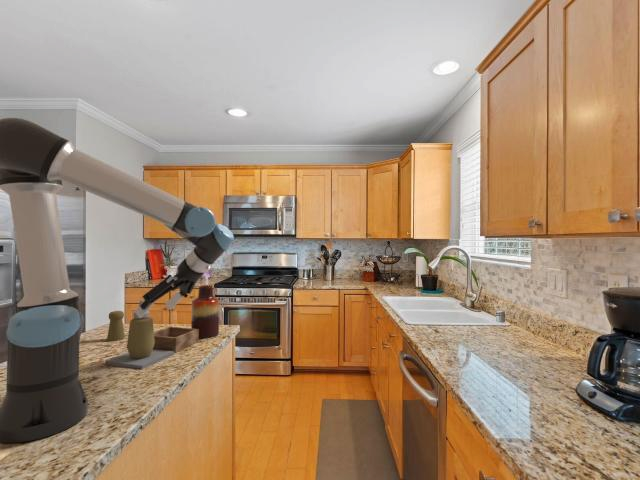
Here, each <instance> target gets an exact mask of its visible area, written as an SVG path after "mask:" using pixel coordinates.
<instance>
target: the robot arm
mask: <svg viewBox="0 0 640 480" xmlns="http://www.w3.org/2000/svg"><path fill="white" fill-rule="evenodd" d="M63 183H67V184H69V185H72V186H74V187H76V188H78V189H81V190H83V191H85V192H88V193H89V194H93V195H95V196H98V197H99V198H102V199H105V200H107V201H109V202H111V203H114V204H116V205H119V206H122V207H123V208H125V209H128V210H131V211H133V212H135V213H138V214H140V215H142V216H145V217H146V218H150V219H152V220H155V221H157V222H159V223H161V224H163V225H164V226H165V227H167V228H168V229H169V230H171V232H173V233H175V234H177V235H178V236H180V237H181V238H183V239H184V240H186V241H188V242H190V244H192V245H194V246H195V247H194V248H193V249H192V250H191V251H190V252H189V253H188V254H187V255H186V257H185V258H184V259H183V260H182V261H181V262H180V264H179V265H178V266H177V273H176V274H174V275H173V276H172V275H171V274H168V275H167V276H166V277H165V278H164V279H163V280H162V281H160V282H159V283H158V284H157V285H155V286H154V287H152V289H150V290H148V291H147V292H146V293H145V294H143V295H142V298H143V300H142V301H143V303H142V304H141V305H140V306H139V305H138V306H139V307H137V308H136V309H135V310H134V312H135V313H136V314H137V316H138V317H139V318H142V316H143V315H144V314H145V313H146V312H147V311H149V310H150V309H151V307H153V306H154V304H155V302H156V301H158V300H159V299H160V298H162V297H164V296H165V295H167V294H168V293H170V292H174V291H176V290H177V289H179V290H177V291H176V292H175V293H174V294H173V295H172V296H171V297H170V299H169V300H168V301H167V302H166V303H165V305H166V307H167V308H168V309H169V310H170V311H172V310H173V308H175V306H177V305H178V303H179V302H181V300H182V299H183V298H187V297H188V296H189V295H190V294H191V293H192V292H193V289H194V287H195V285H196V283H197V282H198V281H199V280H200V279H201V277H202V276H203V275H204V274H205V273H206V272H207V271H208V270H210V269H211V266H213V264H214V263H216V261H217V260H218V259H219V258H220V257H221V256H222V255H223V254H224V253H225V251H227V250H228V248H229V247H230V246H231V244H233V242H234V240H235V236H234V234H233V232H232V231H231V230H230V229H229V228H228V227H226V226H225V225H223V224H221V223H217V221H216V216H215V214H214V213H213V212H212V211H211V210H210V209H208V208H207V207H204V206H196V205H194V204H192V203H190V202H187V201H185V200H183V199H182V198H179V197H178V196H175V195H173V194H171V193H168V192H166V191H164V190H163V189H161V188H159V187H156V186H154V185H152V184H149V183H147V182H146V181H144V180H141V179H139V178H137V177H135V176H133V175H131V174H129V173H127V172H125V171H122V170H120V169H118V168H117V167H114V166H112V165H110V164H108V163H105V162H103V161H102V160H99V159H97V158H95V157H93V156H90V154H89V155H88V154H87V153H85V152H82V151H81V150H78V149H76V148H75V147H74V144H73V142H72V141H71V140H69V139H66V138H64V137H62V136H60V135H59V134H57V133H55V132H53V131H50V130H49V129H46V128H45V127H43V126H40V125H39V124H37V123H35V122H33V121H30V120H28V119H24V118H18V117H5V118H1V119H0V190H1V191H3V192H4V193H6V194H7V195H8V197H9V203H10V210H11V211H10V212H11V215H12V222H13V223H12V224H13V229H14V237H15V243H16V250H17V257H18V264H19V269H20V276H21V282H22V290H23V297H22V299H21V300H19V302H18V303H17V304H16V307H17V309H16V310H17V312H16V313H15V314H13V315H12V316H11V317H10V319H9V321H8V324H7V325H8V326H7V329H6V332H5V333H6V338H7V349H6V350H7V353H6V356H7V357H6V387H5V388H6V389H5V390H6V391H5V395H4V398H3V400H2V402H1V404H0V443H3V444H4V443H6V444H13V443H15V444H16V443H23V442H31V441H35V440H39V439H40V440H41V439H43V438H47V437H50V436H53V435H56V434H58V433H61V432H63V431H65V430H67V429H69V428H71V427H73V426H75V425H77V424H78V423H79V422H81V421H82V420H83V419H84V418H85V417H86V416H87V414H88V399H87V397H86V394H85V390H84V389H83V386H82V384H81V381H80V377H79V374H80V373H79V372H80V371H79V370H80V367H79V365H80V340H81V336H82V333H83V331H84V327H85V321H84V315H83V314H82V311H81V306H80V299H79V294H78V292H76V291H74V290H72V289H71V288H70V282H69V274H68V268H67V262H66V254H65V249H64V248H65V247H64V242H63V241H64V240H63V233H62V232H63V231H62V226H61V225H62V224H61V219H60V212H59V207H58V205H59V204H58V198H57V194H58V192H59V191H61V190H62V189H63V188H64V187H63ZM134 312H133V313H134Z"/></svg>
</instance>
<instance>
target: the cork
mask: <svg viewBox="0 0 640 480" xmlns="http://www.w3.org/2000/svg"><path fill="white" fill-rule="evenodd" d="M124 317H125V313H124V312H123V311H122V310H113V311H111V312H110V313H109V314H108V319H109V324H108V325H109V326H108V332H107V337H106V342H119V341H123V340H125V339H126V336H125V330H124V329H125V328H124V323H123V321H124V320H123V319H124ZM124 338H125V339H124ZM122 339H123V340H122ZM118 340H119V341H118Z"/></svg>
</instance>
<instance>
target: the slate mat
mask: <svg viewBox="0 0 640 480" xmlns="http://www.w3.org/2000/svg"><path fill="white" fill-rule="evenodd" d="M174 355H175V353H174V351H166V350H157V349H153V350H152V353H151V355H150V356H148V357H145V358H138V359H134V358H131V357H130V354H129V352H128V351H127V352H126V353H123V354H120V355H117V356H116V357H112V358H109V359H108V360H105V361H104V365H105V366H106V365H108V366H115V367H121V368H123V367H124V368H129V369H130V368H131V369H137V370H138V369H140V370H143V369H146V368H149V366H152V365H154V364H156V363H159V362H161V361H162V360H165V359H167V358H170V357H171V356H174Z"/></svg>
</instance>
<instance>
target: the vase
mask: <svg viewBox="0 0 640 480" xmlns="http://www.w3.org/2000/svg"><path fill="white" fill-rule="evenodd" d="M190 321H191V326H190V327H191V329H199V340H201V339H211V338H215V337H218V336H219V334H220V299H219V298H217V297H214V286H213V285H199V286H198V295H197V297H196V298H194V299H192V300H191V320H190Z"/></svg>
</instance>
